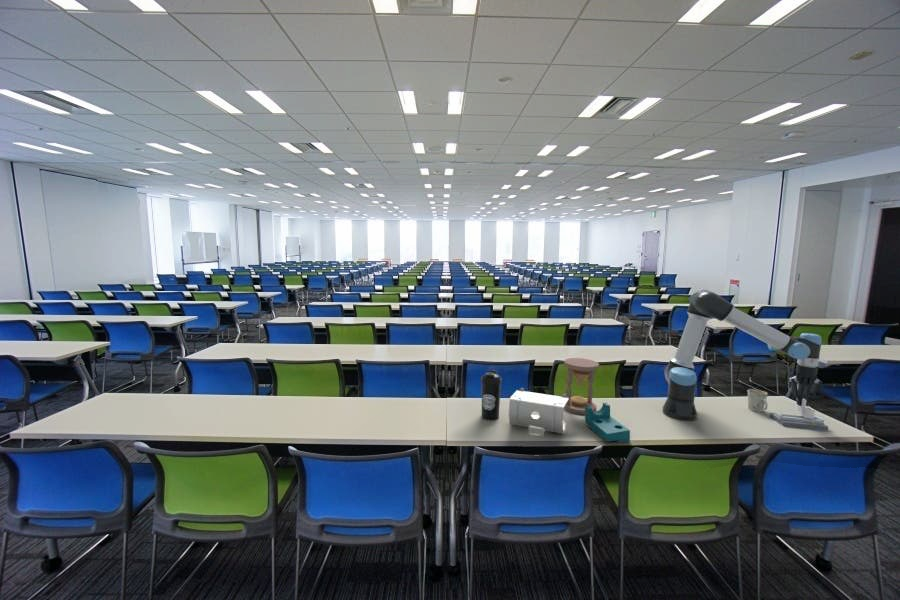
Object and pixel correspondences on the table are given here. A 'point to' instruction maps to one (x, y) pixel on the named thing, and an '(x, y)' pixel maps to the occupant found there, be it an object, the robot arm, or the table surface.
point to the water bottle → (491, 395)
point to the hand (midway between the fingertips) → (801, 411)
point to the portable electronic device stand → (544, 405)
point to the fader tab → (808, 413)
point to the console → (799, 421)
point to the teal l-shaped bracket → (606, 424)
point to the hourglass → (581, 373)
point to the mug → (757, 400)
